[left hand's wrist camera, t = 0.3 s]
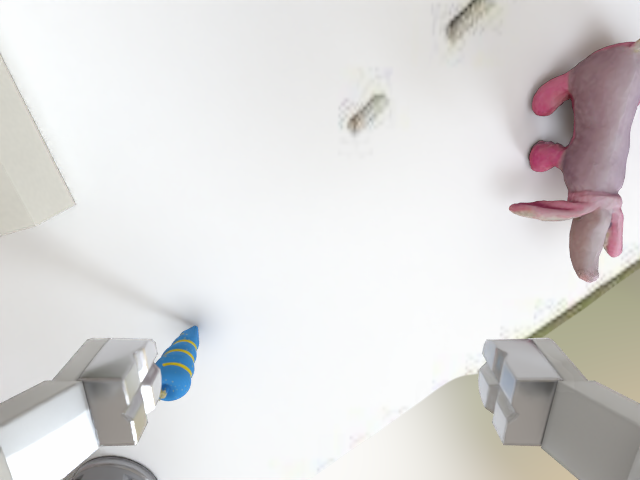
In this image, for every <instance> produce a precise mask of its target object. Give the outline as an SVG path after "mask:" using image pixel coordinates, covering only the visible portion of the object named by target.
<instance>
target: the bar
mask: <svg viewBox="0 0 640 480" xmlns="http://www.w3.org/2000/svg"><path fill="white" fill-rule="evenodd" d="M74 205H76V204H75V202H74V200H73V198H72V196H71V194H70V192H69V190H68V188H67V186H66V184H65V182H64V180H63V178H62V176H61V174H60V172H59V170H58V168H57V166H56V164H55V162H54V160H53V158H52V156H51V154H50V152H49V150H48V148H47V146H46V144H45V142H44V140H43V138H42V136H41V134H40V132H39V130H38V128H37V126H36V124H35V122H34V120H33V118H32V116H31V114H30V112H29V110H28V108H27V107H26V105H25V103H24V101H23V99H22V97H21V95H20V93H19V91H18V89H17V87H16V85H15V83H14V81H13V79H12V77H11V75H10V73H9V71H8V69H7V67H6V65H5V63H4V61H3V59H2V57H1V55H0V236H3V235H7V234H10V233H14V232H17V231H21V230H24V229H28V228H32V227H35V226H37V225H39V224H41V223H43V222H45V221H47V220H48V219H50V218H52V217H54V216H56V215H58V214H59V213H61V212H63V211H65V210H67V209H68V208H70V207H72V206H74Z"/></svg>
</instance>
